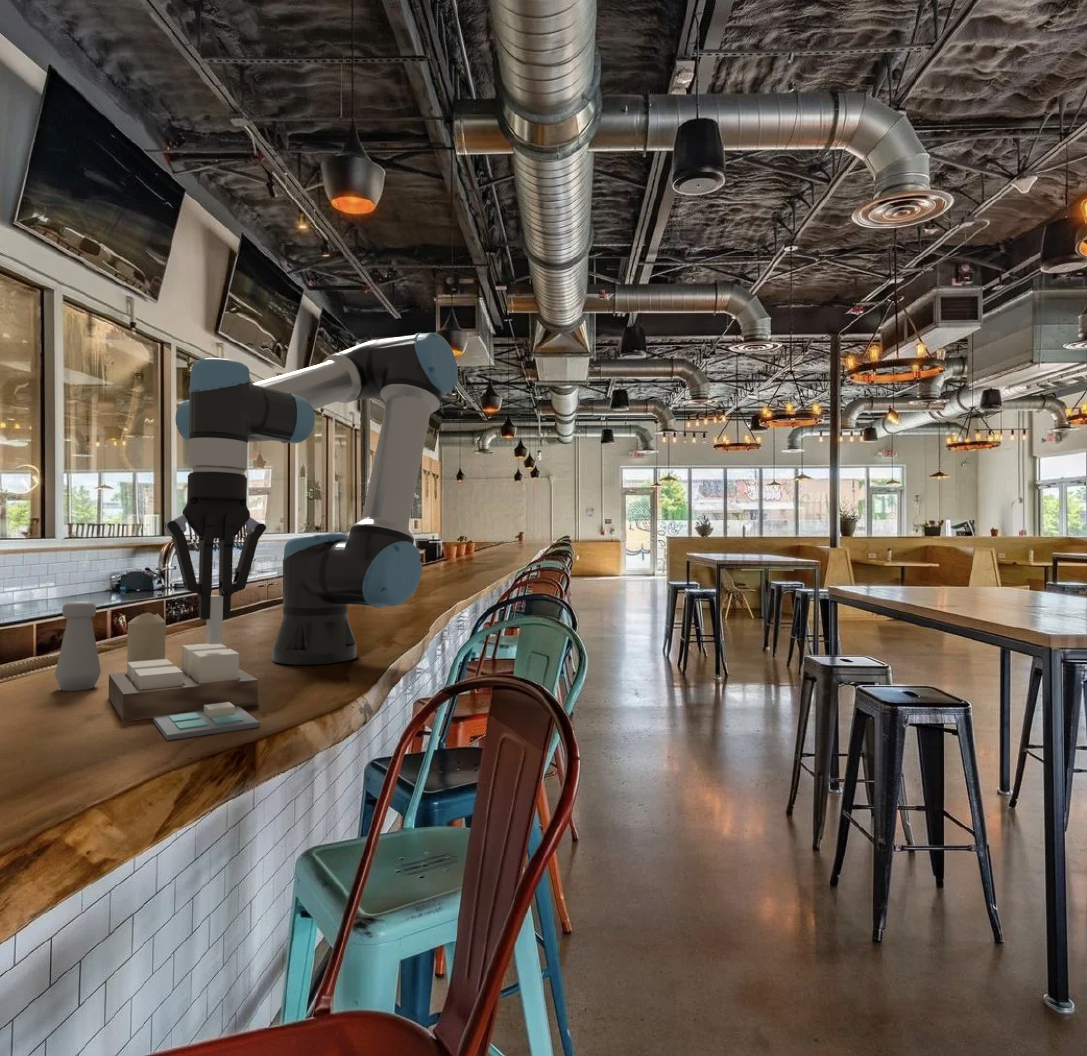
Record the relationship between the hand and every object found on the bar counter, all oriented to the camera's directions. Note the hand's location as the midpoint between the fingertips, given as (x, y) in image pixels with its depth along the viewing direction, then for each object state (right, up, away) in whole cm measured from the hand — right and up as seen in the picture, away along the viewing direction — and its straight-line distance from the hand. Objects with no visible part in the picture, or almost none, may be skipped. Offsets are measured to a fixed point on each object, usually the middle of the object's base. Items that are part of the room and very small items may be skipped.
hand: (213, 642), depth 99 cm
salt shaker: (-24, -8, +9) cm, 27 cm away
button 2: (-6, -7, -4) cm, 10 cm away
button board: (-5, -8, +1) cm, 10 cm away
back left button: (-4, -5, +6) cm, 9 cm away
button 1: (-10, -7, +2) cm, 12 cm away
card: (+4, -8, -11) cm, 14 cm away
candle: (-21, -9, +20) cm, 30 cm away
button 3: (0, -5, 0) cm, 5 cm away
